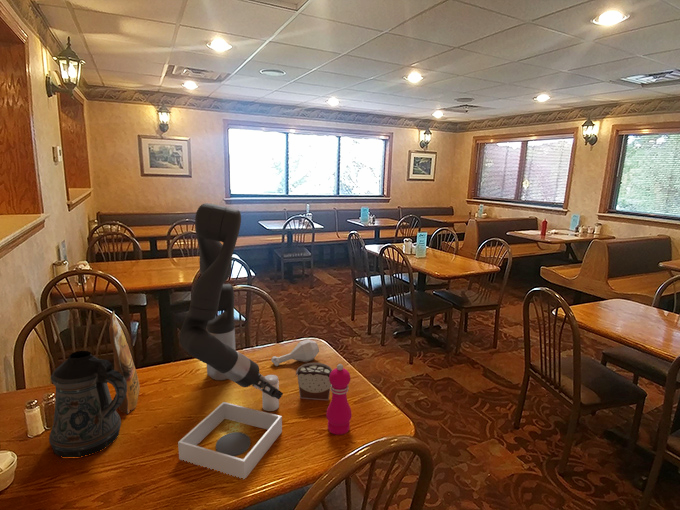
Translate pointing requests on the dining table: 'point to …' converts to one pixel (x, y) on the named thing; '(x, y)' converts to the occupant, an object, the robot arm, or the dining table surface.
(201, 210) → the robot arm
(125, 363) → the pancake mix bag
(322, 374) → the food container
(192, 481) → the dining table surface
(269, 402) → the sugar shaker
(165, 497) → the dining table surface
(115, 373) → the beer stein
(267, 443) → the grey square frame
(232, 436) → the coaster
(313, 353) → the chicken leg
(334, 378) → the pepper mill
